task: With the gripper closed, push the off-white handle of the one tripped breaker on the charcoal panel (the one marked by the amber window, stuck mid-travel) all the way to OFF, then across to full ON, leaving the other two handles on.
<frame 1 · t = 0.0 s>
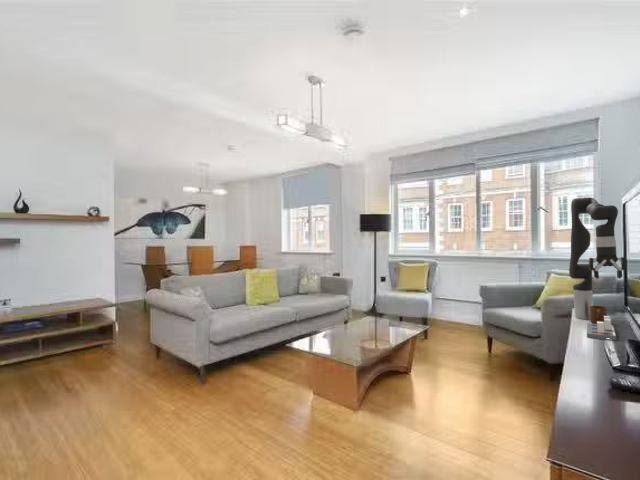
hand: (607, 278, 165), 29 cm above the tv stand, tool pointing down, fingers open, 8 cm apart
breaker b: (607, 324, 171), point 5 cm above the tv stand, slide at 3.0 cm
breaker a: (607, 321, 178), point 5 cm above the tv stand, slide at 3.0 cm
breaker c: (600, 327, 167), point 5 cm above the tv stand, slide at 0.0 cm
breaker panel: (600, 333, 173), on the tv stand
mug: (599, 324, 190), on the tv stand
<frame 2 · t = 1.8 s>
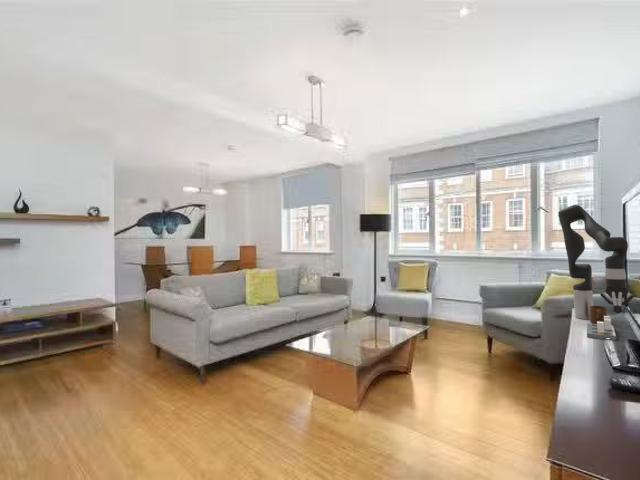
hand: (617, 313, 163), 12 cm above the tv stand, tool pointing down, fingers closed
nothing on the tv stand moved.
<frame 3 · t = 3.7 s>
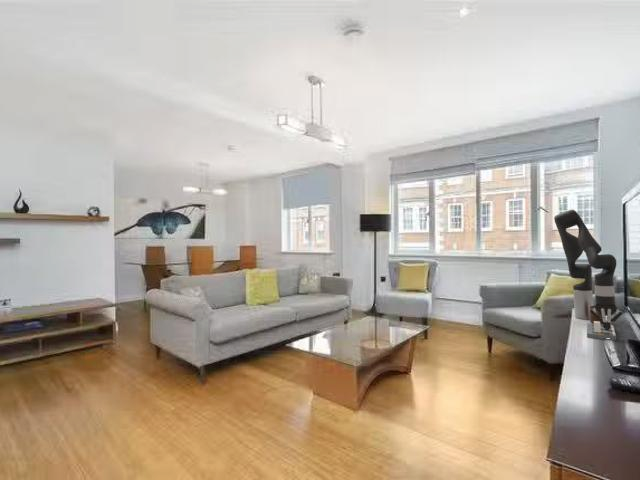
hand: (607, 329, 166), 4 cm above the tv stand, tool pointing down, fingers closed
breaker c: (597, 326, 168), point 5 cm above the tv stand, slide at -1.3 cm, touching gripper
everything else where it was.
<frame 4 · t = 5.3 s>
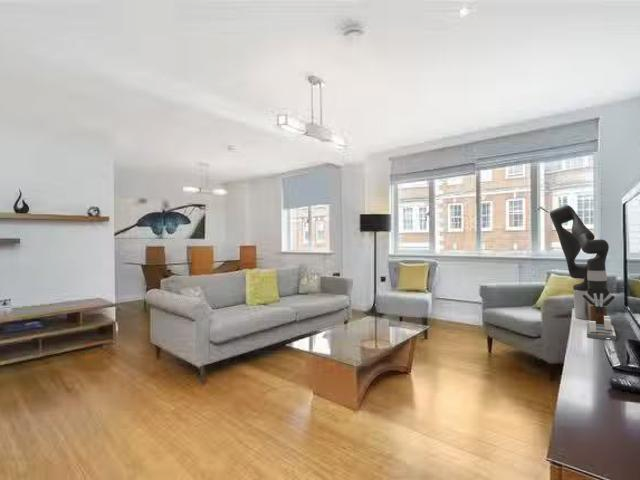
hand: (599, 313, 167), 11 cm above the tv stand, tool pointing down, fingers closed
breaker c: (592, 326, 169), point 5 cm above the tv stand, slide at -3.1 cm
everything else where it was.
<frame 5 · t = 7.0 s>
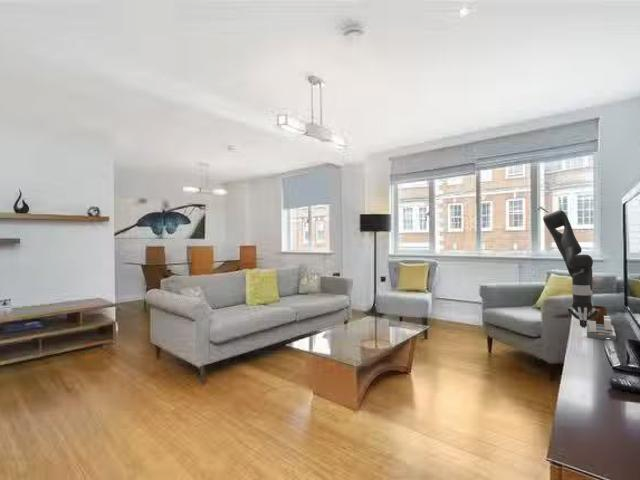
hand: (583, 327, 171), 4 cm above the tv stand, tool pointing down, fingers closed
breaker c: (592, 326, 169), point 5 cm above the tv stand, slide at -3.0 cm, touching gripper
everything else where it was.
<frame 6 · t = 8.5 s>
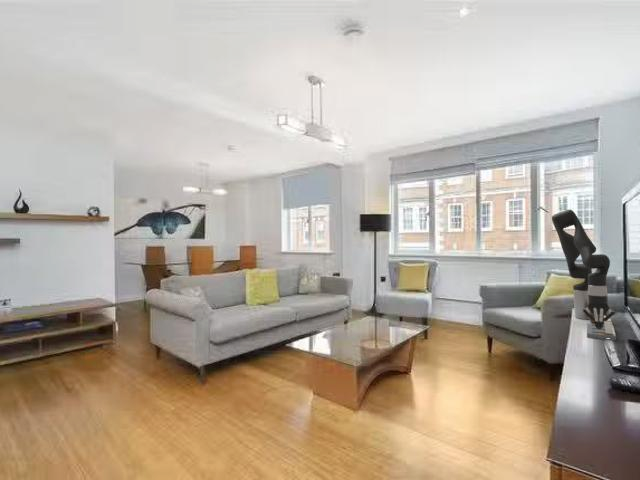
hand: (599, 328, 167), 4 cm above the tv stand, tool pointing down, fingers closed
breaker c: (608, 327, 165), point 5 cm above the tv stand, slide at 3.1 cm, touching gripper
everything else where it was.
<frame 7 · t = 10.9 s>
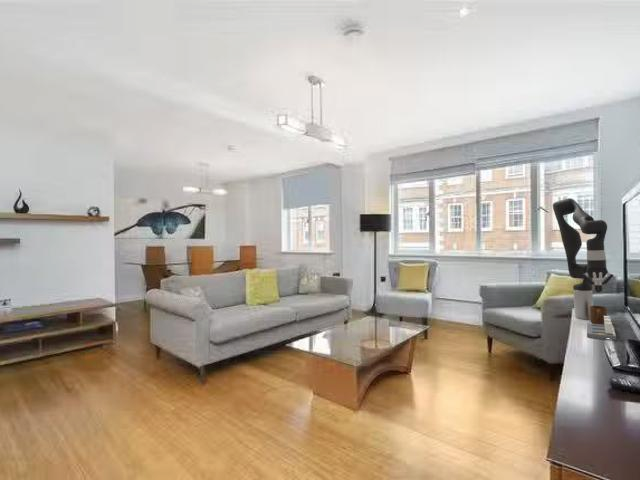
hand: (598, 292, 173), 21 cm above the tv stand, tool pointing down, fingers closed
breaker c: (608, 327, 165), point 5 cm above the tv stand, slide at 3.1 cm
everything else where it was.
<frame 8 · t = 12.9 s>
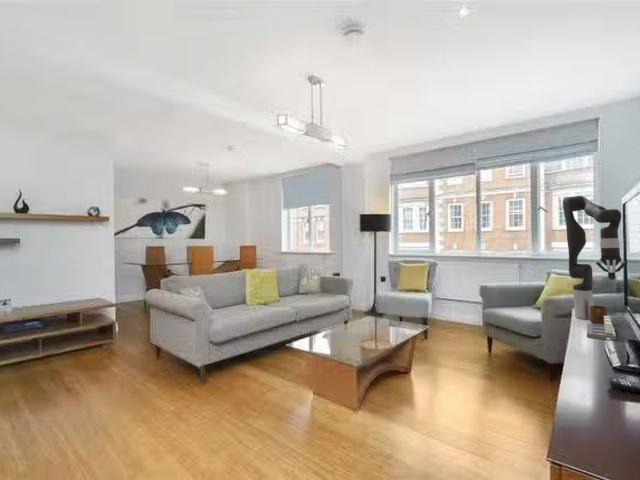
hand: (612, 279, 177), 27 cm above the tv stand, tool pointing down, fingers closed
nothing on the tv stand moved.
at the end: breaker c slide at 3.1 cm; breaker a slide at 3.0 cm; breaker b slide at 3.0 cm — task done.
